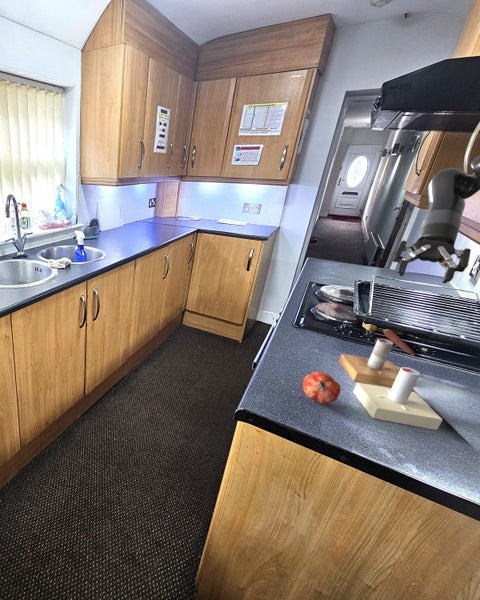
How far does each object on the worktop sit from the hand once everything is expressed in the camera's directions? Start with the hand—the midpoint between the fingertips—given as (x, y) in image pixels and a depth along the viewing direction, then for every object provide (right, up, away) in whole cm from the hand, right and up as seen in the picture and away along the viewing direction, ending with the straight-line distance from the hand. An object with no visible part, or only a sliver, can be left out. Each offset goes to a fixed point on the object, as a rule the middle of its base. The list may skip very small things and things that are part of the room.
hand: (422, 278), depth 89 cm
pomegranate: (-34, -31, -7) cm, 47 cm away
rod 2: (-19, -29, -12) cm, 37 cm away
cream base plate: (-19, -32, -11) cm, 39 cm away
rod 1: (-13, -24, +1) cm, 27 cm away
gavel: (+10, -21, +18) cm, 29 cm away
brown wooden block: (-13, -27, +2) cm, 30 cm away
